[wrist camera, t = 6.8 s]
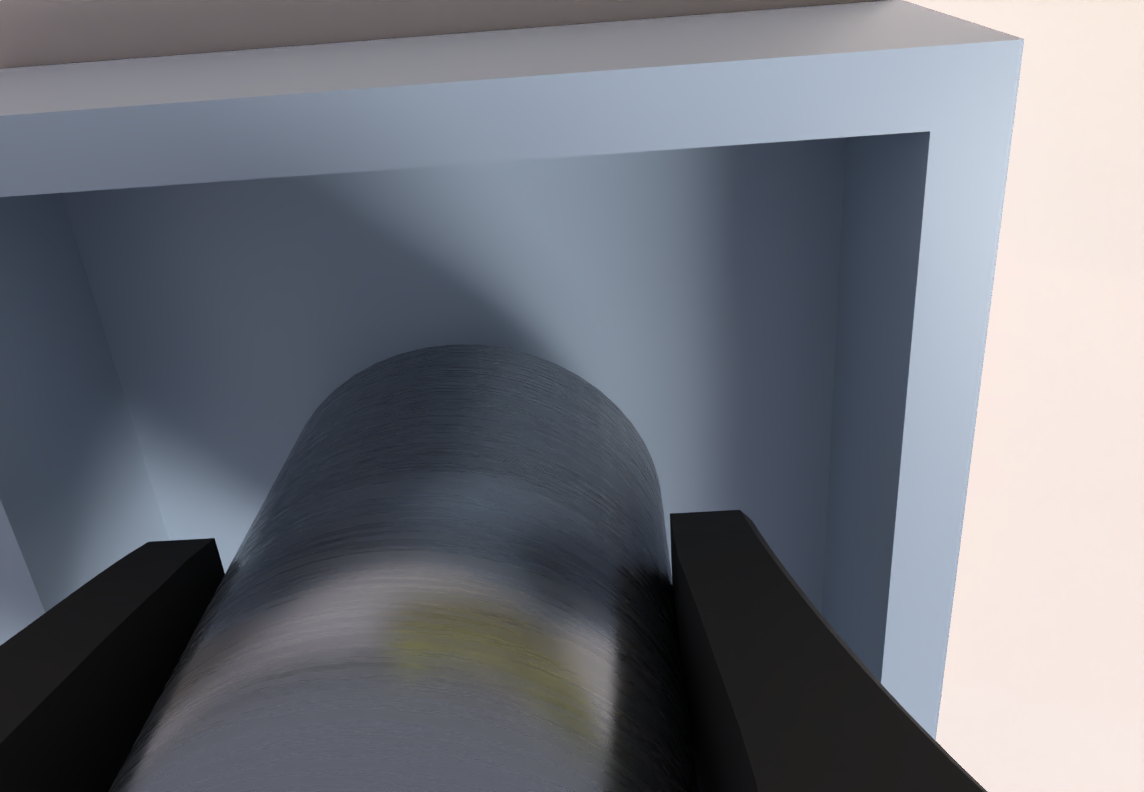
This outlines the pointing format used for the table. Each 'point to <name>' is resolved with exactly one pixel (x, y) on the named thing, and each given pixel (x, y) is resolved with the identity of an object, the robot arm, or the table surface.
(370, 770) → the cylinder with rectangular bar
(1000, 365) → the table surface
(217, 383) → the bin
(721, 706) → the robot arm
